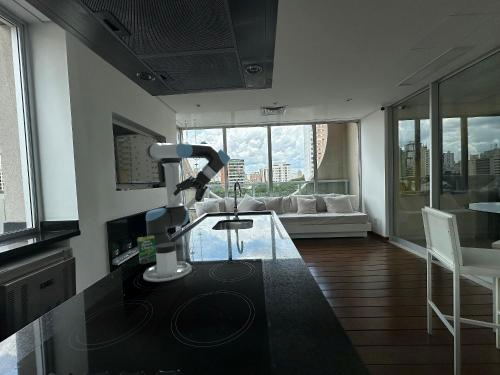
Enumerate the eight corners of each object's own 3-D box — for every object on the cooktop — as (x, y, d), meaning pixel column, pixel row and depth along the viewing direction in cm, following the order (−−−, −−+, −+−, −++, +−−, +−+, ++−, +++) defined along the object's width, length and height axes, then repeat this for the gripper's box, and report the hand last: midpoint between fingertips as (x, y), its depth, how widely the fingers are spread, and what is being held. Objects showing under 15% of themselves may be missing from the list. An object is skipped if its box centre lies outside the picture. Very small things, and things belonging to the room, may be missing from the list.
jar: (171, 268, 114) (169, 241, 114) (182, 271, 109) (180, 243, 109) (152, 274, 108) (150, 246, 107) (163, 278, 102) (160, 248, 102)
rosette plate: (137, 273, 113) (136, 269, 113) (179, 262, 126) (179, 257, 126) (153, 286, 97) (152, 281, 97) (199, 271, 110) (199, 266, 110)
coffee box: (139, 265, 125) (137, 238, 125) (139, 263, 128) (137, 237, 127) (156, 261, 129) (154, 235, 128) (156, 260, 131) (154, 234, 131)
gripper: (196, 168, 123) (166, 201, 124) (221, 187, 145) (196, 214, 145) (189, 160, 127) (160, 192, 128) (214, 179, 149) (189, 206, 149)
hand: (179, 204), depth 136 cm, fingers open, 13 cm apart
